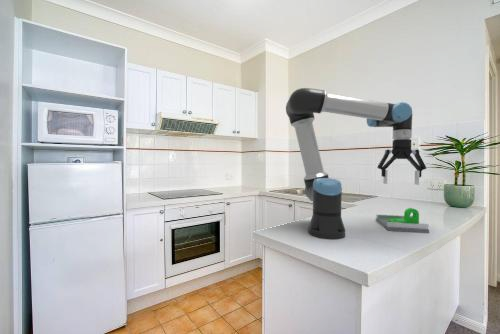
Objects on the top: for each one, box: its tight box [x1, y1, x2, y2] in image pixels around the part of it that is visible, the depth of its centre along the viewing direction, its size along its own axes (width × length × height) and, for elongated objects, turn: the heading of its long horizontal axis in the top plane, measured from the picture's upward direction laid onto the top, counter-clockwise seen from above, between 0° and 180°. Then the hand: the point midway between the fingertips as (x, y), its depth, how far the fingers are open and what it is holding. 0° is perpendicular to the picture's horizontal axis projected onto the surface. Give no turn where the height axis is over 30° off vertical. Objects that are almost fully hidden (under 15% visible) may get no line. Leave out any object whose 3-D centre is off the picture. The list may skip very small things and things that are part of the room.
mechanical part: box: [388, 207, 420, 224], centre depth 111 cm, size 12×6×8 cm, turn 91°
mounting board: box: [375, 218, 430, 234], centre depth 113 cm, size 16×18×2 cm
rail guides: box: [375, 214, 429, 229], centre depth 113 cm, size 16×16×2 cm
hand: (400, 184), depth 112 cm, fingers open, 13 cm apart
